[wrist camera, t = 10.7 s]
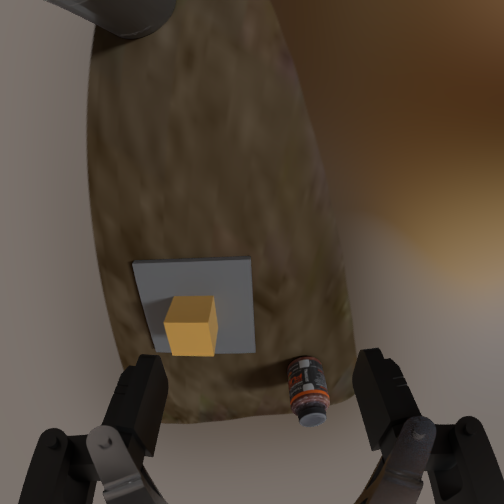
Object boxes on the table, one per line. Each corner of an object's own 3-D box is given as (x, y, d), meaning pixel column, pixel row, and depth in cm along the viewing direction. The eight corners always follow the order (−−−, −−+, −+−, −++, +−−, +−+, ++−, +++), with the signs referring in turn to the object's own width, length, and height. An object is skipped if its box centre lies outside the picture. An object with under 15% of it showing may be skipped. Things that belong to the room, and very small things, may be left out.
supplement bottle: (293, 352, 45) (301, 407, 35) (326, 356, 46) (340, 410, 36) (281, 375, 48) (287, 429, 37) (313, 379, 48) (323, 431, 38)
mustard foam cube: (173, 296, 40) (163, 322, 34) (213, 295, 40) (208, 322, 34) (180, 327, 42) (172, 355, 37) (218, 327, 42) (214, 356, 37)
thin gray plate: (134, 260, 39) (121, 278, 34) (250, 256, 38) (250, 274, 34) (157, 347, 45) (150, 369, 41) (255, 348, 45) (255, 371, 40)
